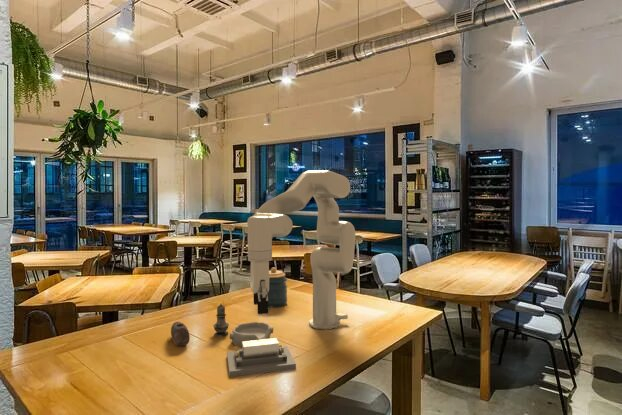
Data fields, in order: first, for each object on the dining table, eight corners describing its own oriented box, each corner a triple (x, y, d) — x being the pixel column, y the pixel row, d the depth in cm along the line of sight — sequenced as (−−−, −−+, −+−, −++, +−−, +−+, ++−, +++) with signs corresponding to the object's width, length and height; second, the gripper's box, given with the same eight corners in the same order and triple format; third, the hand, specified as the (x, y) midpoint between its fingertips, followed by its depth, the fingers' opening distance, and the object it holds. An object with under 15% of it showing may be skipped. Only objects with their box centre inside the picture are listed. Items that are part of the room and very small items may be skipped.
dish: (276, 336, 147) (276, 323, 146) (259, 351, 134) (259, 336, 133) (242, 332, 151) (242, 319, 151) (222, 345, 138) (222, 331, 138)
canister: (286, 307, 182) (286, 270, 181) (258, 307, 182) (258, 270, 181) (288, 299, 195) (288, 264, 194) (262, 299, 195) (261, 264, 194)
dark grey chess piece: (225, 337, 145) (225, 305, 144) (210, 336, 146) (210, 304, 146) (231, 332, 151) (231, 301, 150) (217, 330, 152) (217, 300, 151)
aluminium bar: (242, 356, 125) (242, 341, 125) (276, 352, 128) (276, 337, 128) (243, 362, 121) (243, 347, 120) (278, 358, 124) (278, 343, 124)
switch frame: (286, 350, 134) (286, 338, 134) (296, 368, 120) (296, 355, 120) (227, 356, 129) (226, 344, 128) (229, 376, 115) (229, 362, 115)
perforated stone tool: (168, 336, 147) (168, 317, 147) (182, 333, 150) (182, 315, 149) (174, 350, 134) (174, 330, 134) (190, 347, 136) (190, 327, 136)
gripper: (245, 251, 130) (245, 301, 131) (251, 261, 113) (252, 319, 115) (267, 250, 132) (268, 300, 133) (276, 259, 115) (277, 316, 116)
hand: (260, 308), depth 124 cm, fingers open, 9 cm apart
